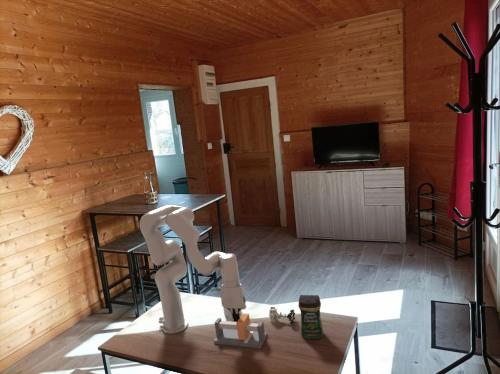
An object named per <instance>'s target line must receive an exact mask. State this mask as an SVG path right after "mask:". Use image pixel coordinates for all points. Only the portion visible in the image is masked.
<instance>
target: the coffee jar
mask: <svg viewBox="0 0 500 374" xmlns="http://www.w3.org/2000/svg"><path fill="white" fill-rule="evenodd" d="M321 306H322V302H321V299H320V296H319V294H313V295H312V294H300V296H299V298H298V309H299V310H300V317H301V319H300V320H301V321H300V322H301V324H300V329H301V330H300V332H301V333H300V335H301V338H303V339H305V340H306V339H307V340H320V339H322V338H323V336H324V327H323V322H322V318H321V308H322V307H321Z"/></svg>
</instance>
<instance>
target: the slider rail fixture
mask: <svg viewBox="0 0 500 374" xmlns="http://www.w3.org/2000/svg"><path fill="white" fill-rule="evenodd" d="M236 323H237V322H234V321H227V320H222V318H221V317H218V318H217V319H216V320H215V321H214V328H215V329H214V330H215V335H216V336H215V338H214V339H213V344H215V345H222V346H225V345H226V346H232V347H233V346H235V347H245V348H251V349H252V348H255V349H261V348H262V346H263V344H264V343H265V341H266V339H267V337H268V332H267V331H265V323H264V321H262V320H260V321H259V322H258V323H254V322H250V323H247V324H246V325H245V326H246V331H250V333H249V334H248V336H247V338H246V339H245V340H239V338H238V331H237V324H236Z"/></svg>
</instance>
